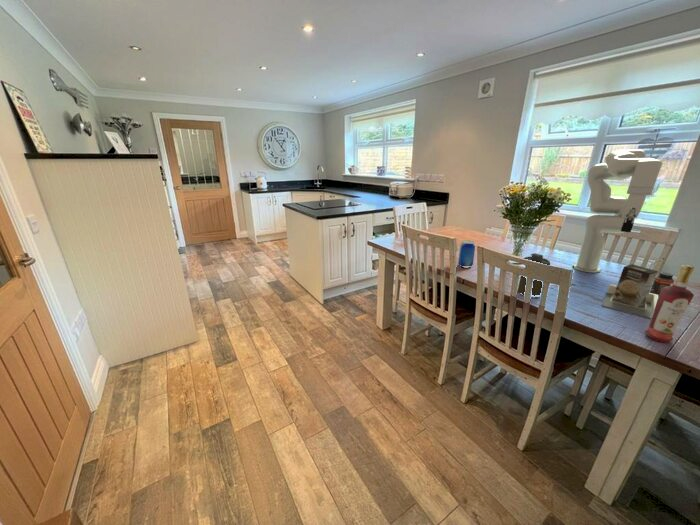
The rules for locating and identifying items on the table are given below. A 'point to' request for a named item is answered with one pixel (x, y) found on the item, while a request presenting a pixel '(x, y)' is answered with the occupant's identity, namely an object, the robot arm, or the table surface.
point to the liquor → (670, 307)
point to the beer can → (466, 253)
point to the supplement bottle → (661, 282)
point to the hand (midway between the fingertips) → (626, 229)
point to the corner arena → (641, 310)
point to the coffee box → (634, 285)
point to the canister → (536, 284)
